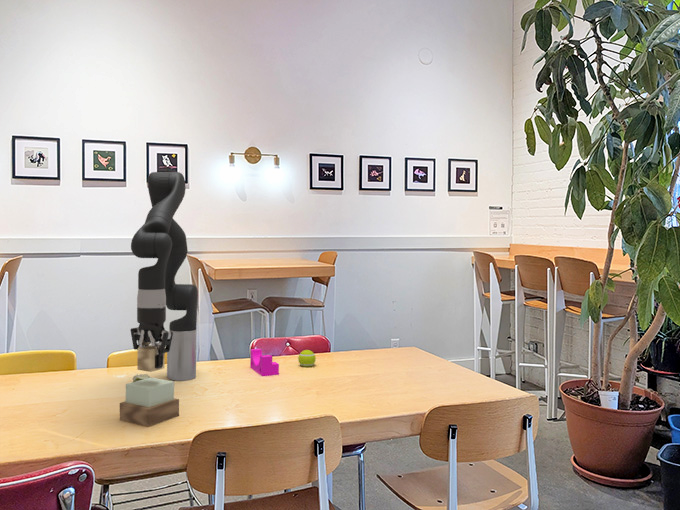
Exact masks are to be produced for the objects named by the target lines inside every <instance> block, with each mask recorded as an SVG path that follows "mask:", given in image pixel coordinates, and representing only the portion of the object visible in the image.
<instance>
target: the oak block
mask: <svg viewBox="0 0 680 510" xmlns="http://www.w3.org/2000/svg"><path fill="white" fill-rule="evenodd" d="M158 348H159V346H158ZM159 350H160V348H159ZM165 354H166V353H164V354H163V366H162V368H158V369H156V368H155V355H156V354H155V349H154V348H153V347H152V345H151V344H149V346H145V347H140V348H138V350H137V369H136V370H137V371H143V372H148V373H152V372H157V371H159V370H163V369H165V362H166V361H165V360H166V359H165Z"/></svg>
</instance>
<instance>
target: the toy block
mask: <svg viewBox="0 0 680 510" xmlns="http://www.w3.org/2000/svg"><path fill="white" fill-rule="evenodd" d="M249 356H250V361H249V362H250V364H249V365H250V369H252V370H253V371H255V372H256V373H257V374H259V375H260V376H261V377H270V376H279V375H280V364H279V363H278V362H277V361H273V356H272V355H271V354H265V355H263V351H262V349H261V348H254V349H253V348H252V349H250V355H249Z"/></svg>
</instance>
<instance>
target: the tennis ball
mask: <svg viewBox="0 0 680 510" xmlns="http://www.w3.org/2000/svg"><path fill="white" fill-rule="evenodd" d="M297 360H298V363H299V364H300V366H301V367H304V368H311V367H312V366H314V364H315V363H316V355H315V353H314V351H312V350H309V349H305V350H302V351H301V352H300V353H299V354H298V358H297ZM310 366H311V367H310Z"/></svg>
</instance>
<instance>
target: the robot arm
mask: <svg viewBox="0 0 680 510" xmlns="http://www.w3.org/2000/svg"><path fill="white" fill-rule="evenodd" d="M147 190H148V196H149V199H150V204H151V208H150V210H149V211H148V213H147V216H146V218H145V222H144V224H143V225H142V226H141V227H140V228H139V229H137V231H136V232H135V234H134V235H133V237H132V239H131V241H130V242H131V243H130V250H131V253H132V254H133V256H134V257H136V258H139V259H157V260H156V263H154V264H153V265H150V266H144V267H141V268H140V269H139V270H138V274H137V275H138V276H137V278H138V280H137V298H136V299H137V300H136V301H137V302H136V322H137V323H138V327H132V328H130V335H131V340H132V341H131V342H132V347H133V349H134V350H137V351H138V348H140V347H145V346H149V345H152V347H153V348H154V349H155V354H156V355H155V368H156V369H158V368H162V366H163V354H164V353H165V354H166V378H167V379H169V380H170V381H178V382H180V381H182V382H183V381H190V380H194V379H196V377H197V323H198V322H197V321H198V319H197V318H198V317H197V315H198V303H199V300H198V297H199V295H198V294H199V292H198V288H197V286H196V285H195V284H189V283H188V284H187V283H185V284H183V283H176V279H175V278H176V275H177V273H178V271H179V269H180V268H181V267H182V265H183V263H184V261H185V260H186V258H187V255H188V251H189V250H188V243H187V242H188V241H187V235H186V233H185V231H184V229H183V228H182V227H181V226H180V224H178V222H177V221H176V220H175V219H174V216H175V214H176V212H177V210H178V209H179V207H180V205H181V204H182V202H183V200H184V197H185V195H186V180H185V177H184V175H183V173H181V172H179V171H153V172H150V173H149V174H148V178H147ZM167 309H168V310H169V311H170V310H171V311H186V313H185V315H184V316H182V317H180V318H176V319H174V320H171V321H170V322H169V329H168V330H166V327H165V326H164V325H165V322H166V321H167V311H166V310H167ZM158 346H159V348H160V350H159V348H158Z"/></svg>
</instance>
